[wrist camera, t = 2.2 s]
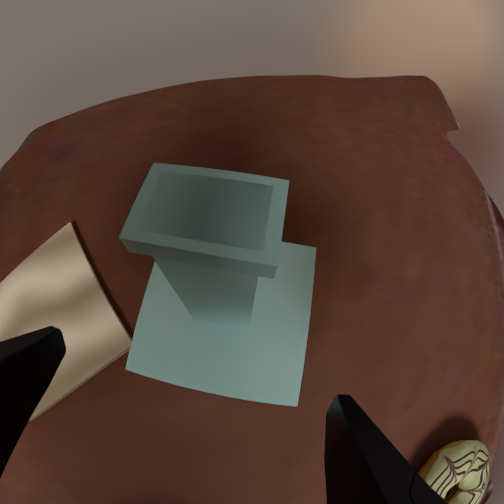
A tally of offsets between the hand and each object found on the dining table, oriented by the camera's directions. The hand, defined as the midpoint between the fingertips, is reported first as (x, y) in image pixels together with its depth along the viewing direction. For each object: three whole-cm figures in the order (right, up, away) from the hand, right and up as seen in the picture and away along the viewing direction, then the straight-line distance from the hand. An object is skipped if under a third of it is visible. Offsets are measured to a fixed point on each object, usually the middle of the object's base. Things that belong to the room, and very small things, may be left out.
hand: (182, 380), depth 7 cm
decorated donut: (+19, -18, +6) cm, 27 cm away
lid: (0, 0, +10) cm, 10 cm away
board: (-17, -2, +12) cm, 21 cm away
